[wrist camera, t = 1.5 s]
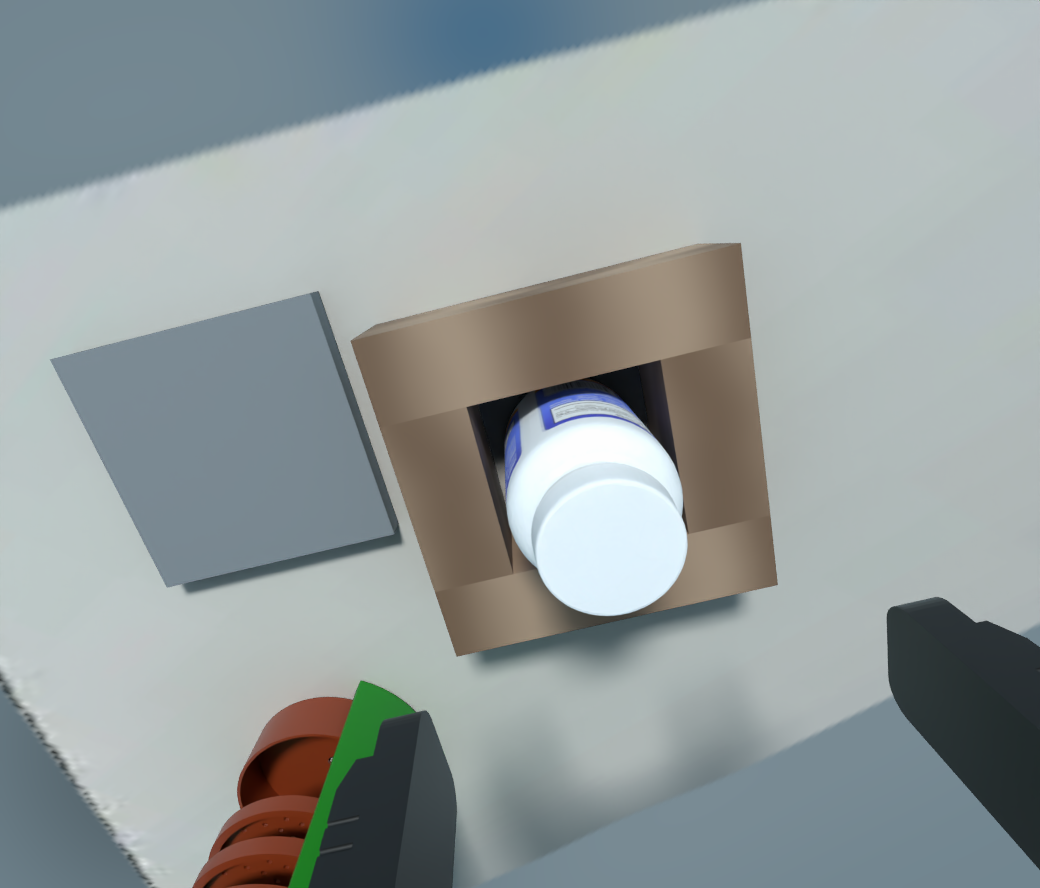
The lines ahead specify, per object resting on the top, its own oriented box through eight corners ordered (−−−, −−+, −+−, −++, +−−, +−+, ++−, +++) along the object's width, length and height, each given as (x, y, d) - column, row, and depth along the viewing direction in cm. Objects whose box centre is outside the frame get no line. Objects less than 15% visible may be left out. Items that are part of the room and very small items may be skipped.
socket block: (698, 243, 22) (740, 243, 18) (736, 535, 26) (777, 585, 22) (375, 324, 22) (350, 340, 18) (463, 597, 26) (456, 656, 23)
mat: (318, 291, 22) (310, 293, 21) (398, 523, 25) (394, 534, 24) (69, 354, 22) (50, 359, 21) (179, 574, 25) (166, 587, 25)
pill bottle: (569, 520, 25) (608, 677, 16) (476, 440, 24) (462, 562, 15) (661, 433, 24) (760, 549, 15) (570, 344, 23) (617, 411, 14)
